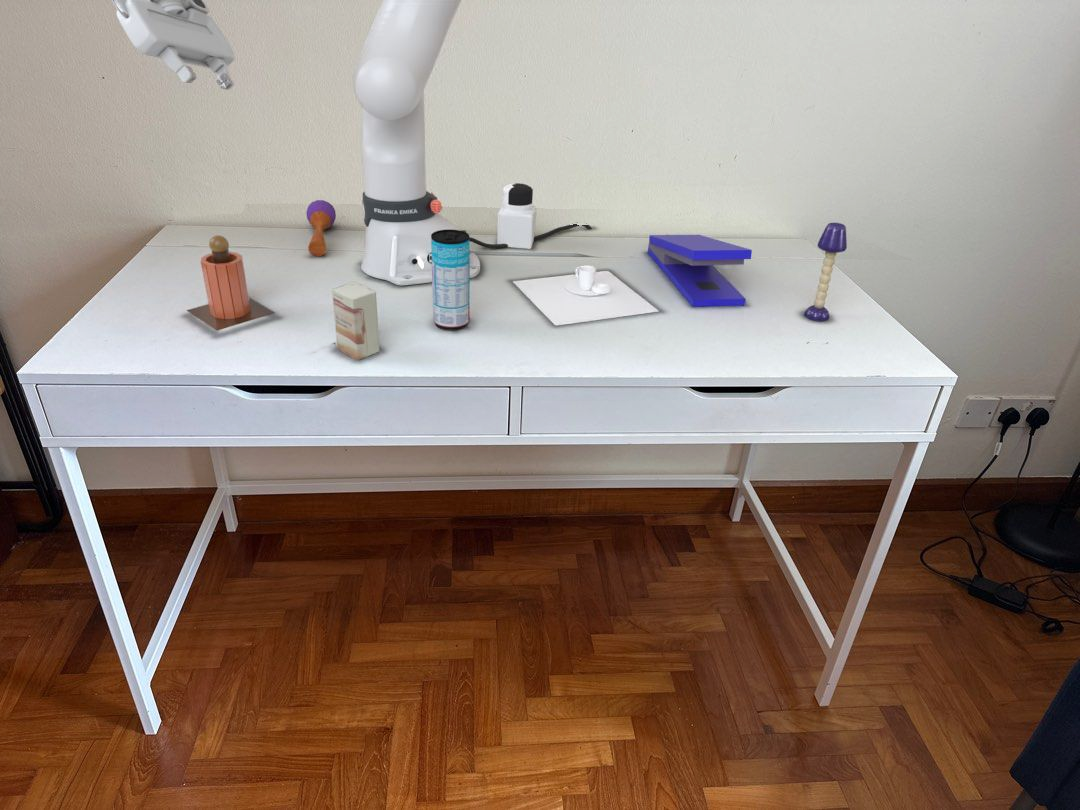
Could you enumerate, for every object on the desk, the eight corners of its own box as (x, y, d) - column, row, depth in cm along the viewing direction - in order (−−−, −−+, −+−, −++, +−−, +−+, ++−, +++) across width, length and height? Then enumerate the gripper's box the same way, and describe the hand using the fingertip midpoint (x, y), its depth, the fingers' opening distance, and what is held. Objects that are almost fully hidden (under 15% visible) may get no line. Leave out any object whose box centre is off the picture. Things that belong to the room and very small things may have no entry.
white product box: (336, 350, 115) (329, 288, 109) (359, 341, 118) (354, 280, 112) (358, 361, 112) (352, 298, 107) (381, 352, 115) (377, 290, 110)
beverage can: (473, 318, 127) (474, 231, 119) (463, 333, 122) (463, 243, 114) (439, 314, 127) (437, 227, 120) (428, 328, 122) (425, 239, 115)
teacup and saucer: (617, 296, 137) (619, 275, 135) (577, 301, 135) (579, 280, 132) (595, 279, 144) (597, 258, 142) (557, 283, 141) (559, 262, 139)
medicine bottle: (534, 238, 162) (537, 182, 156) (531, 249, 156) (533, 191, 150) (501, 235, 163) (503, 179, 157) (497, 246, 157) (498, 189, 151)
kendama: (296, 237, 144) (303, 198, 160) (306, 265, 148) (312, 224, 164) (328, 231, 145) (331, 193, 161) (336, 259, 149) (339, 219, 164)
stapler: (689, 306, 135) (697, 254, 130) (643, 252, 158) (649, 205, 153) (749, 305, 137) (760, 253, 132) (695, 251, 160) (703, 205, 155)
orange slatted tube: (238, 300, 126) (229, 248, 121) (257, 312, 122) (249, 259, 118) (204, 310, 122) (193, 257, 117) (222, 322, 119) (212, 268, 114)
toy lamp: (813, 323, 132) (838, 230, 123) (794, 313, 135) (817, 221, 126) (833, 319, 134) (859, 227, 125) (814, 309, 137) (837, 219, 128)
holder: (244, 299, 129) (231, 221, 122) (276, 318, 123) (264, 237, 116) (187, 315, 122) (170, 234, 115) (217, 336, 117) (201, 252, 110)
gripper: (118, -28, 104) (179, 61, 106) (211, 3, 123) (261, 79, 125) (90, 2, 106) (150, 89, 108) (185, 28, 125) (235, 102, 127)
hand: (210, 84), depth 117 cm, fingers open, 8 cm apart
